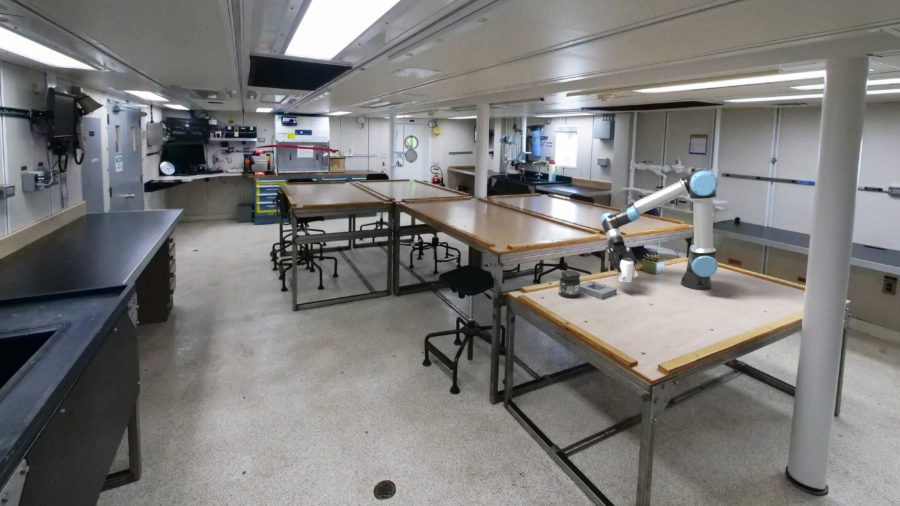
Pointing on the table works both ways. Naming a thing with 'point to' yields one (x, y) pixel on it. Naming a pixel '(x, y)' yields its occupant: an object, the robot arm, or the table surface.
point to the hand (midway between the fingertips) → (629, 277)
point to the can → (627, 270)
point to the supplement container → (569, 284)
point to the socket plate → (597, 289)
